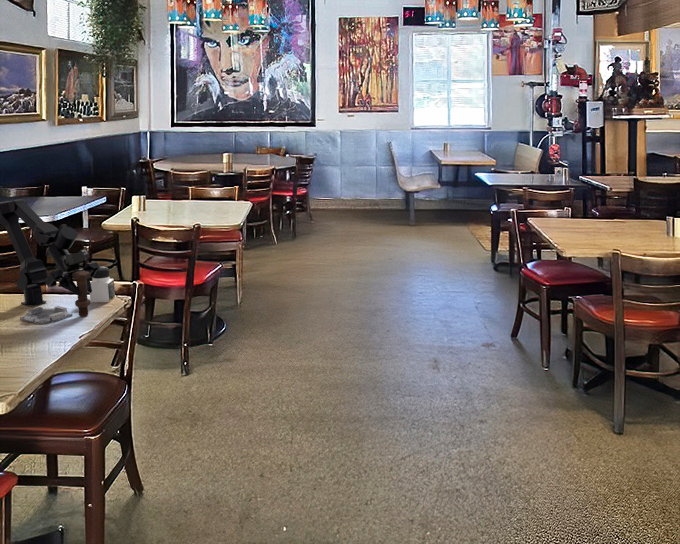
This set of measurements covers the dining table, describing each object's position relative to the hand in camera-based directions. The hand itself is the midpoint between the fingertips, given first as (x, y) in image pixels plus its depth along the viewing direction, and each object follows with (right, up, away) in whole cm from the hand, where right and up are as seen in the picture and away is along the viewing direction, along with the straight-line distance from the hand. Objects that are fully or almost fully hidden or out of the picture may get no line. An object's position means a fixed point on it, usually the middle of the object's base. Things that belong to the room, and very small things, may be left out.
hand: (85, 293), depth 271 cm
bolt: (-2, -8, +3) cm, 8 cm away
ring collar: (-14, -8, +1) cm, 16 cm away
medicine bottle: (-1, -3, +23) cm, 23 cm away
